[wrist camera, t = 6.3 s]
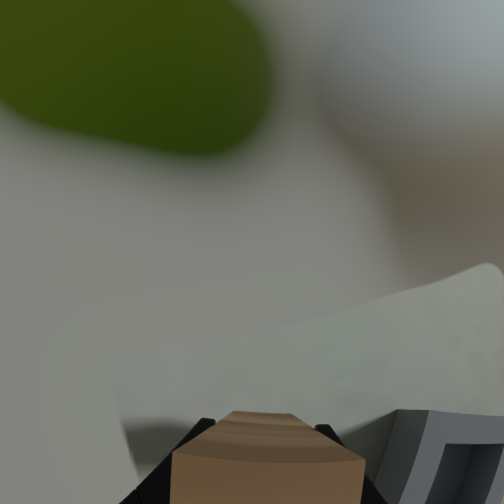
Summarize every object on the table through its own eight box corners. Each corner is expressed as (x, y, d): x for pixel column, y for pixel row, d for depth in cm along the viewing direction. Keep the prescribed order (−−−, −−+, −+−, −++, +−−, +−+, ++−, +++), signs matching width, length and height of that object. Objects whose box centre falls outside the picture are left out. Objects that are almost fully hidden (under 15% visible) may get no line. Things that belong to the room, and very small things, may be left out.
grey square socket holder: (454, 522, 13) (484, 536, 8) (354, 526, 14) (374, 551, 10) (489, 418, 17) (525, 416, 12) (397, 409, 18) (429, 410, 14)
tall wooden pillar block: (287, 465, 13) (340, 590, 2) (230, 461, 13) (169, 582, 3) (291, 413, 14) (365, 459, 4) (234, 410, 15) (172, 451, 4)
